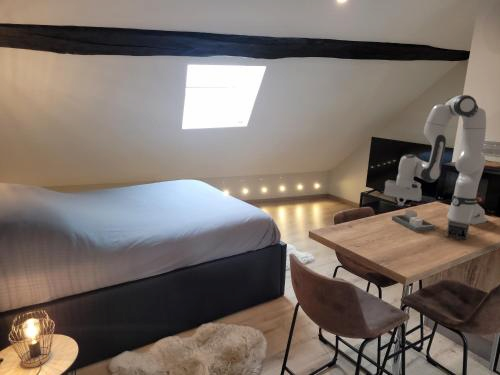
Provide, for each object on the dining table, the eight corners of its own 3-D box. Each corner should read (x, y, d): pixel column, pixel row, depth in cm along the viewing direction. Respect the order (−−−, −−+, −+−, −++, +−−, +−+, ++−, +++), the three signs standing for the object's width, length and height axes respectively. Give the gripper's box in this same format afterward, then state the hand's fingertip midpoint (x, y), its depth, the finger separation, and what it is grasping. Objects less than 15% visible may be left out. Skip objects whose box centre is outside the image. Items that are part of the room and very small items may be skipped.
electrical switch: (467, 238, 183) (470, 221, 180) (466, 242, 179) (469, 225, 176) (446, 234, 188) (449, 218, 185) (445, 238, 184) (447, 221, 181)
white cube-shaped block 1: (410, 217, 209) (411, 209, 208) (416, 220, 205) (417, 211, 203) (404, 217, 208) (405, 209, 207) (410, 220, 204) (411, 212, 202)
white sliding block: (414, 224, 197) (416, 216, 196) (421, 228, 193) (422, 219, 192) (408, 225, 196) (410, 216, 195) (415, 228, 192) (416, 219, 190)
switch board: (410, 218, 211) (410, 214, 211) (434, 230, 194) (435, 225, 193) (391, 219, 208) (392, 215, 207) (414, 231, 190) (415, 227, 190)
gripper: (384, 180, 211) (381, 202, 215) (422, 186, 202) (418, 210, 206) (386, 178, 217) (383, 200, 221) (423, 184, 207) (419, 207, 211)
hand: (400, 205), depth 213 cm, fingers closed
